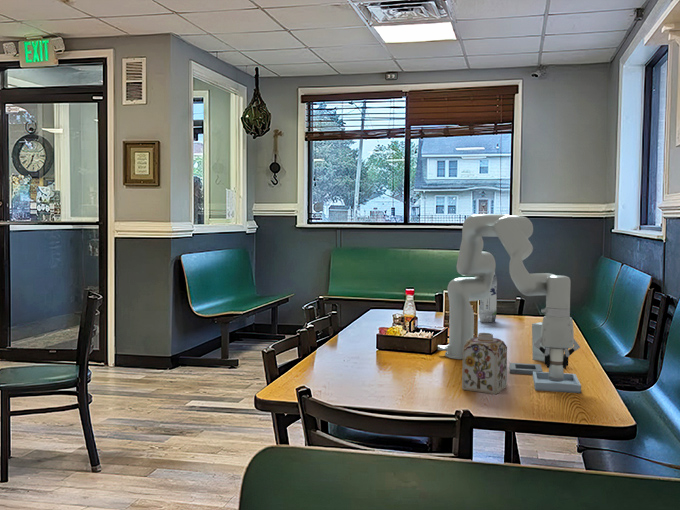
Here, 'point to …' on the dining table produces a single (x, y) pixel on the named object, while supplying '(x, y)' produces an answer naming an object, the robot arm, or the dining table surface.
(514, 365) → the socket
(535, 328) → the skincare box
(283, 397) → the dining table surface
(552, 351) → the cylinder
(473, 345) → the decorative jar
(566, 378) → the tray
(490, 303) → the juice carton
